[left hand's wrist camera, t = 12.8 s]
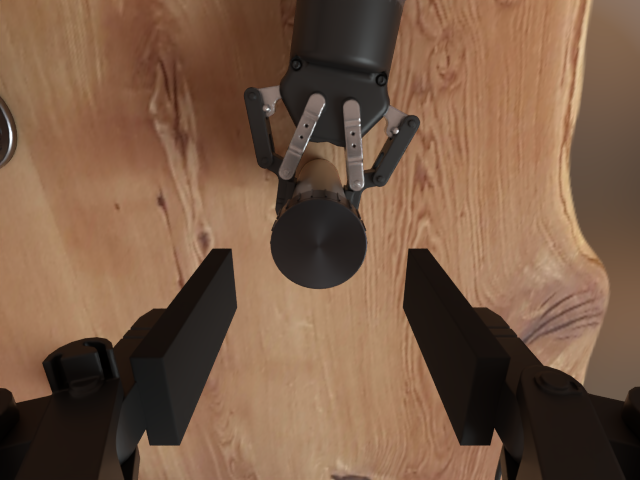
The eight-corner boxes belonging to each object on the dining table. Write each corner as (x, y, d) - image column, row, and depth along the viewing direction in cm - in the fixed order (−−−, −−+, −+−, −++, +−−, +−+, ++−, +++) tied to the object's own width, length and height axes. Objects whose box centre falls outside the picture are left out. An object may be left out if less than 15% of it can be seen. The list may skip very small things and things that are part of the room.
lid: (372, 259, 21) (378, 276, 19) (290, 281, 21) (286, 300, 19) (351, 176, 19) (354, 185, 17) (261, 203, 20) (254, 214, 18)
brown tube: (343, 192, 36) (365, 267, 19) (305, 203, 37) (293, 286, 20) (333, 153, 35) (346, 196, 18) (293, 165, 35) (269, 218, 18)
